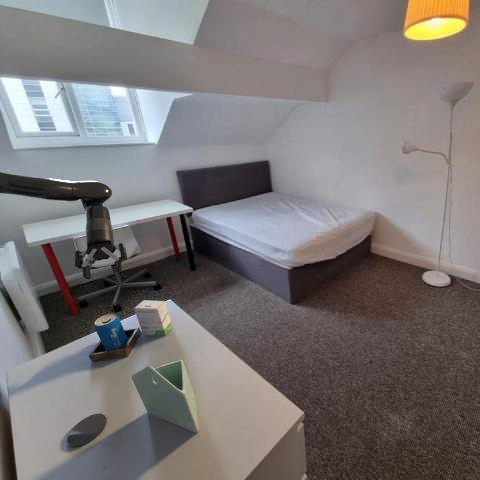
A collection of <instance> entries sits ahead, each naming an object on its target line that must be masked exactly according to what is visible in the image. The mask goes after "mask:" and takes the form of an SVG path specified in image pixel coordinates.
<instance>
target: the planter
mask: <svg viewBox="0 0 480 480" xmlns="http://www.w3.org/2000/svg"><path fill="white" fill-rule="evenodd" d="M131 380H132V383H133V384H134V387H135V389H136V391H137V393H138V395H139V398H140V399H141V401H142V404H143V406H144V408H145V410H146V412H147V414H149V415H151V416H154V417H157V418H158V419H161V420H164V421H166V422H168V423H170V424H173V425H176V426H178V427H180V428H183V429H185V430H187V431H190V432H193V433H195V434H198V433H199V430H200V428H199V419H198V407H197V400H196V394H195V392H194V389H193V386H192V383H191V380H190V377H189V373H188V372H187V369H186V366H185V363H184V360H183V359H179V360H176V361H173V362H168V363H165V364H163V365H160V366H157V367H153V366H151V365H146V366H145V367H144V368H142V369H140V370H139V371H136V372H135V373H132V374H131Z"/></svg>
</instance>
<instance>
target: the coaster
mask: <svg viewBox="0 0 480 480" xmlns="http://www.w3.org/2000/svg"><path fill="white" fill-rule="evenodd" d="M107 422H108V419H107V416H106V415H105V414H103V413H93V414H91V415H88V416H86V417H85V418H82V419H81V420H80V421H79V422H78V423H76V424H75V425H74V426H73V427H72V428H71V430H70V431H69V433H68V435H67V439H66V442H67V444H68V445H69V446H70V447H72V448H79V447H83V446H85V445H87V444H89V443H91V442H92V441H94V440H95V439H96V438H97V437H99V435H100V434H102V432H103V431H104V430H105V428H106V426H107Z"/></svg>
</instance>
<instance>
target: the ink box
mask: <svg viewBox="0 0 480 480" xmlns="http://www.w3.org/2000/svg"><path fill="white" fill-rule="evenodd" d="M133 310H134V312H135V315H136V316H135V317H136V318H137V321H138V324H139V328H140V331H141V333H142V335H143V336H159V337H160V336H164V337H165V336H167V335H168V333H169V332H170V331H171V329H172V328H173V323H172V319H171V316H170V313H169V310H168V306H167V303H166V301H165V300H145V299H143V300H142V301H141V302H139V303H138V304H137V305H136V306H135V307H134V308H133Z"/></svg>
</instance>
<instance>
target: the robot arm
mask: <svg viewBox="0 0 480 480" xmlns="http://www.w3.org/2000/svg"><path fill="white" fill-rule="evenodd" d="M0 194H5V195H12V196H13V195H14V196H15V195H16V196H21V197H28V198H32V199H33V198H35V199H40V200H47V201H55V202H57V201H58V202H67V203H68V202H71V203H73V202H77V201H80V202H81V206H82V208H83V211H84V212H85V237H86V250H76V251H75V253H74V266H75V268H77V269H80V270H82V276H83V278H85V279H86V280H90V279H91V278H92V277H91V267H92V266H93V265H94V264H95V263H96V262H99V261H103V260H109V259H110V258H111V259H113V260H114V269H115V273H116V274H120V273H121V272H122V271H123V266H122V262H123V261H127V260H128V253H127V249H126V245H125V244H124V243H123V242H119V243H118V244H116V245H115V239H114V238H115V237H114V229H113V224H112V217H111V210H110V208H109V207H107V206H105V205H104V204H105V203H106V202H107V201H108V200H109V199H110V198H112V196H113V190H112V188H111V187H110V186H109V185H108V184H106V183H104V182H101V181H96V180H84V181H83V180H81V181H70V180H61V179H54V178H46V177H39V176H38V177H37V176H29V175H21V174H15V173H14V174H13V173H8V172H3V171H0ZM116 250H118V251H119V254H120V256H119V257H118V256H117V255H116V254H114V253H115V252H116ZM86 255H88V256H87V257H86ZM85 257H86V258H85ZM84 258H85V260H84Z"/></svg>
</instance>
